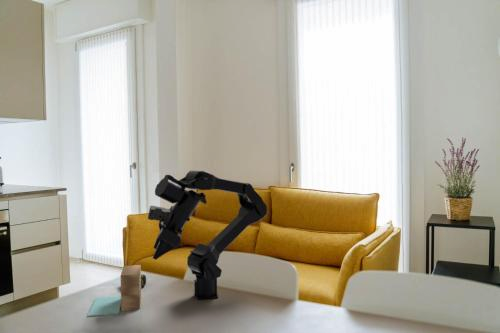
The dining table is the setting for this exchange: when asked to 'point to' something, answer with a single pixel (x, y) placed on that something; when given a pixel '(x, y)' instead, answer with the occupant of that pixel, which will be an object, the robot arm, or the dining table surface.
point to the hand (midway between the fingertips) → (154, 253)
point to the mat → (105, 306)
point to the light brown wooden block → (131, 287)
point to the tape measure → (143, 280)
